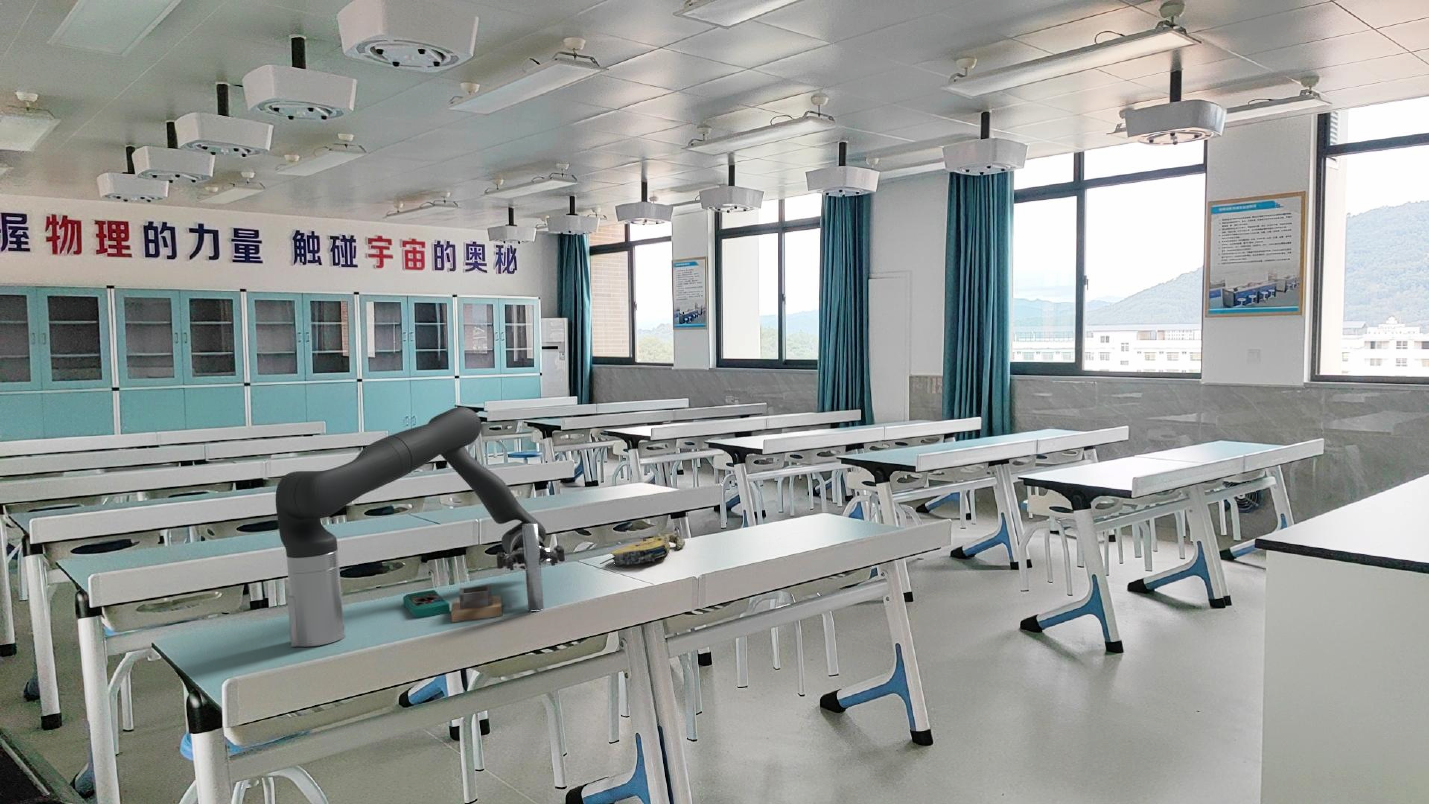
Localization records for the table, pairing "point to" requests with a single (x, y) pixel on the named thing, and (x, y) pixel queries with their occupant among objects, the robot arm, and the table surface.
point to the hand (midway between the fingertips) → (532, 563)
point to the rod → (532, 566)
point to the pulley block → (646, 549)
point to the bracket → (476, 604)
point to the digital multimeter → (426, 604)
